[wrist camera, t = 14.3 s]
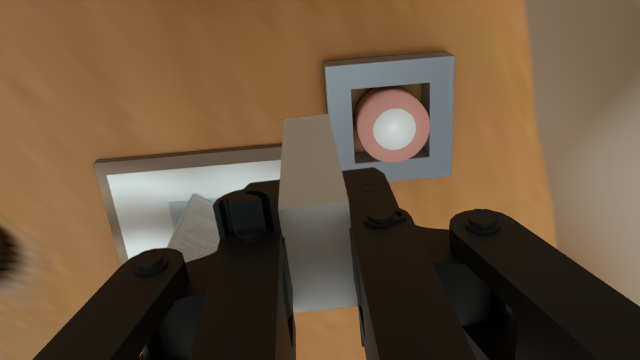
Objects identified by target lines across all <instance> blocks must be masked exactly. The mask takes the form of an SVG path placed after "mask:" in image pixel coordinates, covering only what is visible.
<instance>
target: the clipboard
mask: <svg viewBox="0 0 640 360" xmlns="http://www.w3.org/2000/svg"><path fill="white" fill-rule="evenodd" d="M281 153H282V144H272V145H260V146H249V147H238V148H227V149H215V150H204V151H193V152H181V153H170V154H159V155H148V156H136V157H125V158H114V159H103V160H97V161H96V162H94V163H93V164H94V168H95V172H96V176H97V179H98V183H99V187H100V190H101V194H102V198H103V201H104V205H105V209H106V212H107V216H108V220H109V224H110V227H111V231H112V235H113V238H114V242H115V246H116V249H117V253H118V257H119V261H120V264H121V266H122V265H123V264H124V263H125V262H126V261H128V260H129V259H130V258H132V257H134V256H136V255H138V254H140V253H141V252H143V251H146V250H148V251H149V250H150V249H154V248H166V247H167V245H168V243H169V241H170V239H171V237H172V234H173V232H174V230H175V228H176V226H177V224H178V222H179V220H180V218H181V216H182V214H183V212H184V210H185V208H186V206H187V204H188V202H189V200H190V198H191V196H192V195H196V196H199V197H201V198H203V199H205V200H207V201H209V202H212V203H215V201H216V200H217V199H218V198H220V197H222V196H223V195H225V194H228V193H230V192H233V191H236V190H241V189H244V188H245V187H246V186H247V185H248V184H249V183H253V182H261V181H270V180H279V179H280V169H281Z"/></svg>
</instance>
